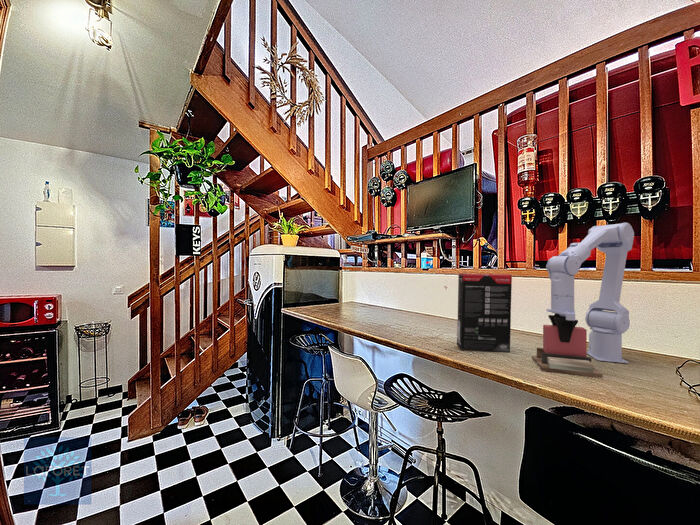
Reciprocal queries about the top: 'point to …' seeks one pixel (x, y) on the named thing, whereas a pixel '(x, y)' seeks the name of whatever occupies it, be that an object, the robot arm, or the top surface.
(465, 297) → the graphics card box
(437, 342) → the top surface
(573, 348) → the red rectangular block
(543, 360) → the rack
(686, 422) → the top surface
